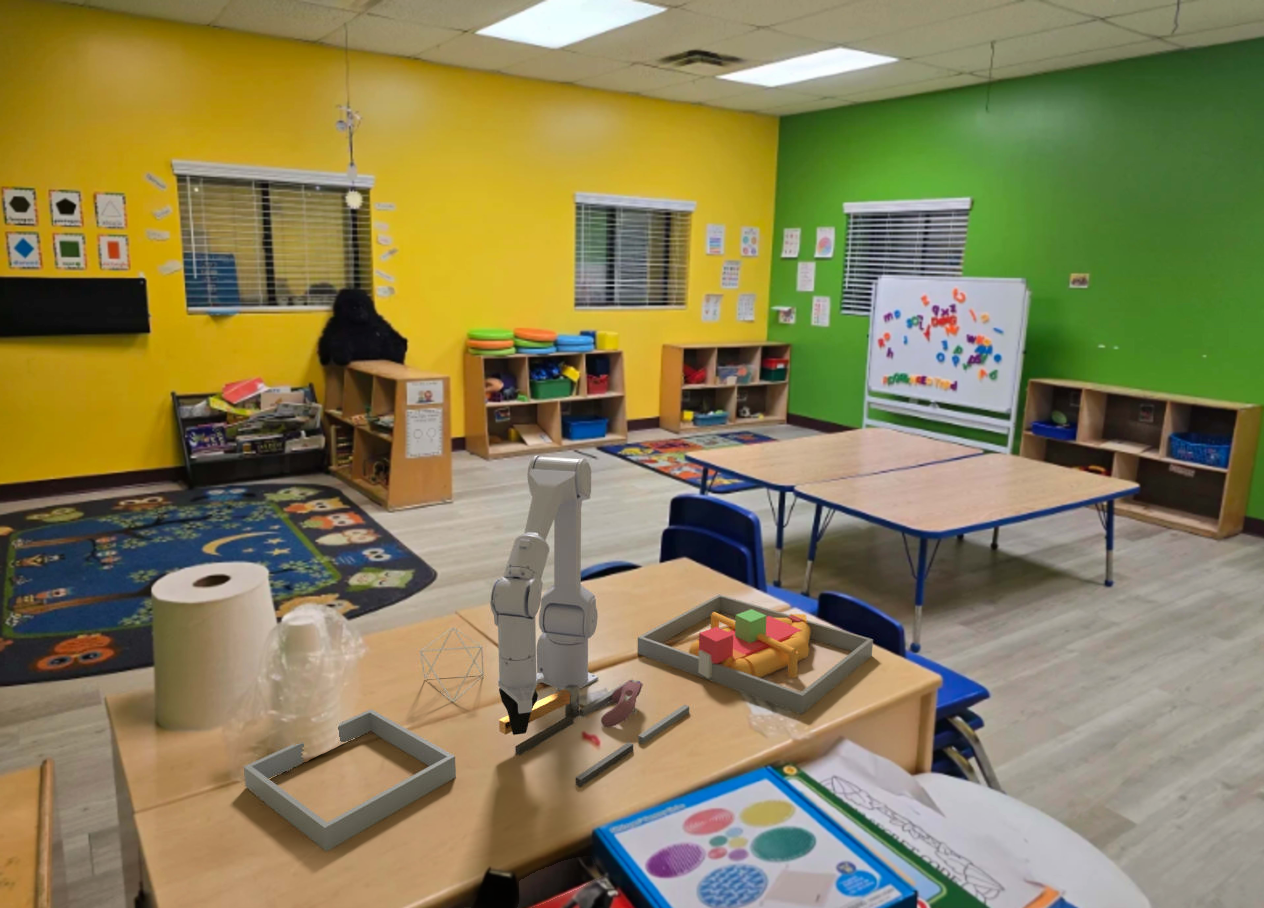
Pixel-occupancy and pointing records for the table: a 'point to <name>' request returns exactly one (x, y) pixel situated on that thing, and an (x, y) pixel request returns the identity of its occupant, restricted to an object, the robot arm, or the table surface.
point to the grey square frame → (369, 810)
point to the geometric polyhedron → (451, 649)
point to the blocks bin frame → (745, 682)
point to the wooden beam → (550, 706)
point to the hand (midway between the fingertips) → (519, 731)
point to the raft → (753, 643)
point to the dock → (614, 756)
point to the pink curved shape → (622, 703)
